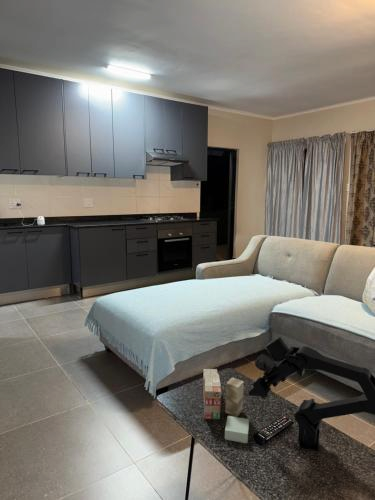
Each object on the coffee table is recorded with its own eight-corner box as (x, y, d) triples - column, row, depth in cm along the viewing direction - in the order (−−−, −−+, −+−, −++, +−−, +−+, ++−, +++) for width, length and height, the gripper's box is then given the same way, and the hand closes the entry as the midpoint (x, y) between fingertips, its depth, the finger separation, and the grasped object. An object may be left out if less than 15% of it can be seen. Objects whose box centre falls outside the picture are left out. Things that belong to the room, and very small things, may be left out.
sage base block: (248, 428, 129) (249, 419, 128) (247, 444, 121) (247, 434, 121) (227, 425, 131) (227, 415, 130) (224, 439, 123) (225, 430, 122)
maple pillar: (242, 410, 139) (243, 381, 136) (236, 417, 135) (238, 387, 132) (231, 406, 142) (232, 377, 139) (225, 412, 137) (226, 383, 135)
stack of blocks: (202, 387, 154) (203, 362, 152) (216, 387, 154) (217, 362, 152) (204, 419, 133) (205, 390, 131) (220, 420, 133) (221, 391, 131)
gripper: (278, 341, 133) (250, 360, 141) (258, 361, 118) (229, 380, 126) (297, 366, 130) (268, 384, 138) (280, 389, 115) (248, 408, 123)
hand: (254, 388), depth 131 cm, fingers open, 9 cm apart
